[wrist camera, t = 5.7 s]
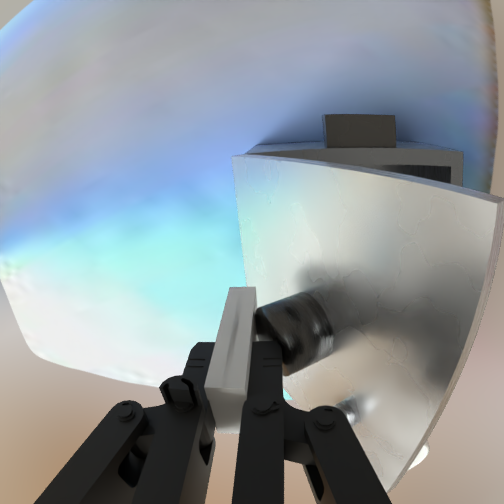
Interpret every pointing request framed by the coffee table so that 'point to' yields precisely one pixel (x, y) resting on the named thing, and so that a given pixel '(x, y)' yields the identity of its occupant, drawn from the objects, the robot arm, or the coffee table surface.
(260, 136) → the coffee table surface
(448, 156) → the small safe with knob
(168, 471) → the robot arm
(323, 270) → the lid
